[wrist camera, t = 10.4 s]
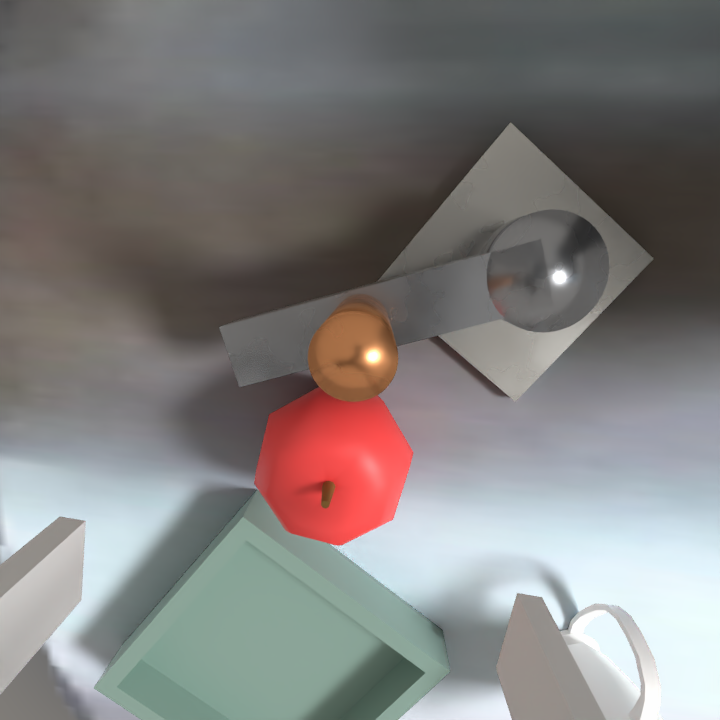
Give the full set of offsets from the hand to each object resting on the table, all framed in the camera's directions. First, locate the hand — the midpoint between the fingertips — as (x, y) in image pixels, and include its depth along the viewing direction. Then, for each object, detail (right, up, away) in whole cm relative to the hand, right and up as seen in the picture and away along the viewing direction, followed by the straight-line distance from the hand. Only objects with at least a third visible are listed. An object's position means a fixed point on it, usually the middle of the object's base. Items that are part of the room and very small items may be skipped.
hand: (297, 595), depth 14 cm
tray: (-3, -11, +16) cm, 20 cm away
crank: (+4, +10, +7) cm, 13 cm away
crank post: (+10, +12, +10) cm, 19 cm away
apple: (+1, +3, +13) cm, 13 cm away
